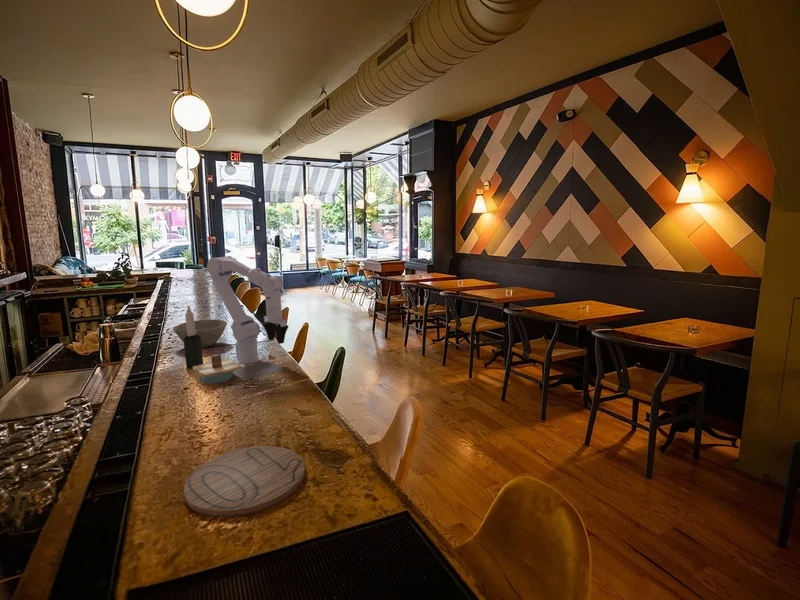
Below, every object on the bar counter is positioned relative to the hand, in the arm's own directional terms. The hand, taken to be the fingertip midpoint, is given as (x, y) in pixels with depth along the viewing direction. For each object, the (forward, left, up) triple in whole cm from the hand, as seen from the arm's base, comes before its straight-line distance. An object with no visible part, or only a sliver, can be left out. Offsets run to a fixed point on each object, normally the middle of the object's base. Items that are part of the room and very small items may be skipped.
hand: (276, 341), depth 178 cm
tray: (+2, -9, -9) cm, 13 cm away
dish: (0, -24, -9) cm, 26 cm away
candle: (-20, -25, -10) cm, 33 cm away
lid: (0, -24, -5) cm, 24 cm away
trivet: (+70, -44, -10) cm, 83 cm away
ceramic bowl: (-52, -11, -10) cm, 54 cm away
